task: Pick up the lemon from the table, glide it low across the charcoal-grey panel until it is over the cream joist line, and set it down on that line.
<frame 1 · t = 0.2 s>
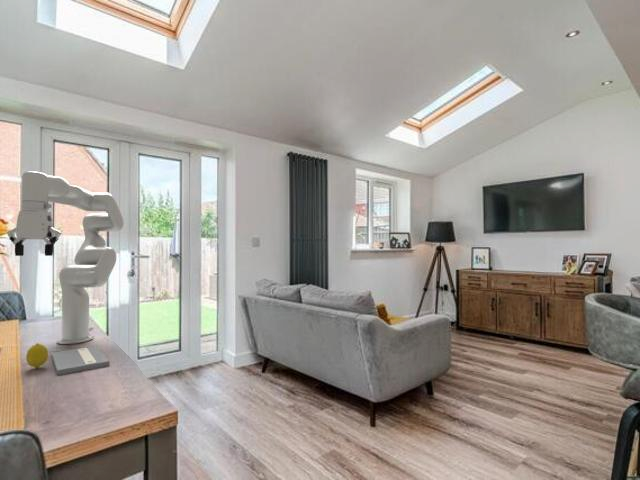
hand: (34, 255, 128), 36 cm above the table, tool pointing down, fingers open, 9 cm apart
panel: (79, 361, 125), on the table
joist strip: (86, 355, 126), resting on panel
lemon: (37, 368, 118), on the table
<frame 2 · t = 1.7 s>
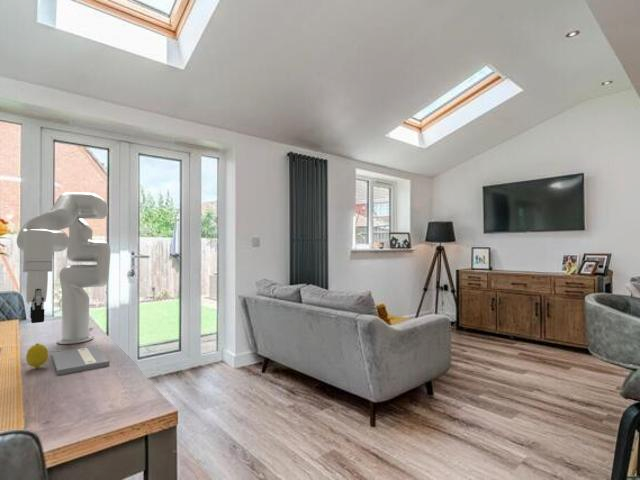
hand: (37, 320, 118), 16 cm above the table, tool pointing down, fingers open, 9 cm apart
nothing on the table moved.
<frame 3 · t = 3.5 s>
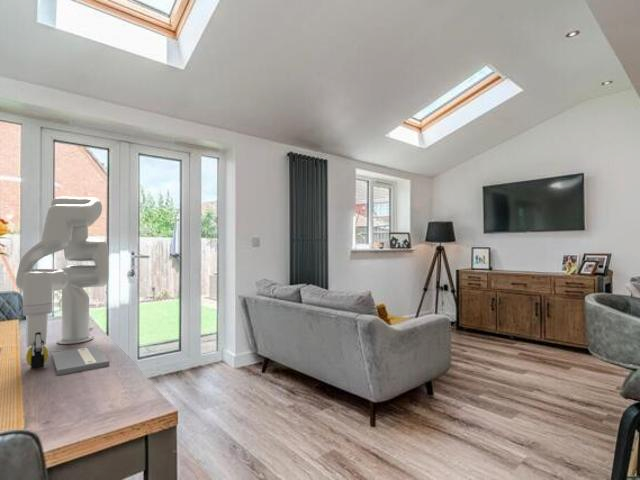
hand: (37, 364, 118), 1 cm above the table, tool pointing down, fingers closed on lemon, 5 cm apart
lemon: (37, 368, 118), on the table, touching gripper
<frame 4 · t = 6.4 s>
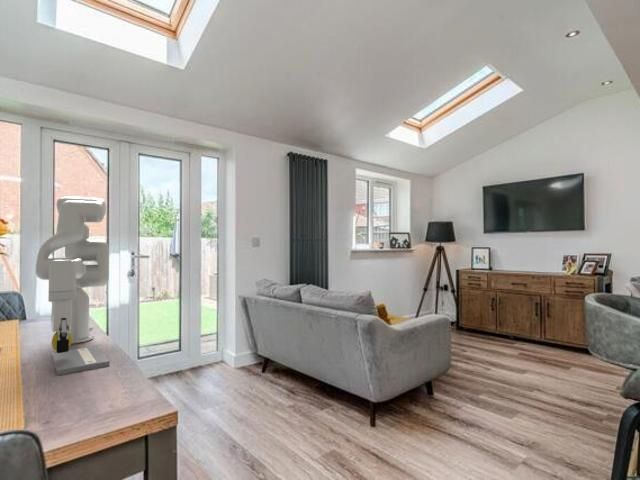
hand: (61, 349, 122), 5 cm above the table, tool pointing down, fingers closed on lemon, 5 cm apart
lemon: (61, 353, 122), point 3 cm above the table, touching gripper
when the fingers open (4 cm above the table, at t = 9.3 s): lemon stays where it is, resting on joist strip.
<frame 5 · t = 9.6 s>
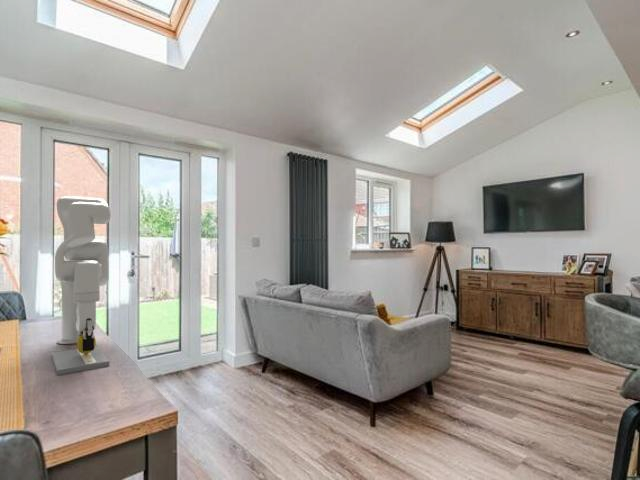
hand: (86, 347, 126), 4 cm above the table, tool pointing down, fingers open, 8 cm apart
lemon: (86, 355, 127), point 1 cm above the table, touching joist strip
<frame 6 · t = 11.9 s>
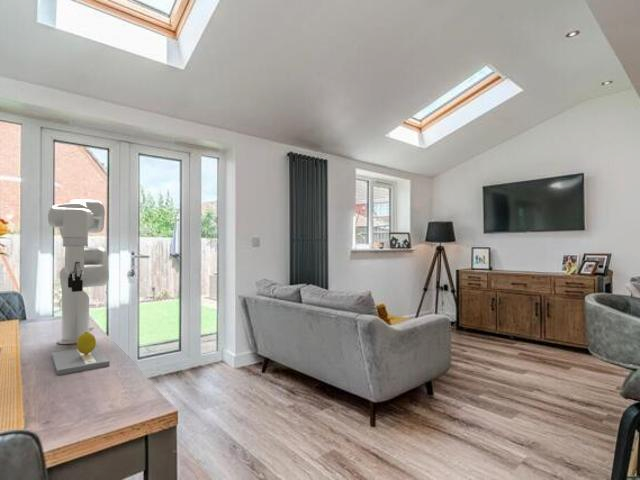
hand: (75, 289, 133), 24 cm above the table, tool pointing down, fingers open, 9 cm apart
nothing on the table moved.
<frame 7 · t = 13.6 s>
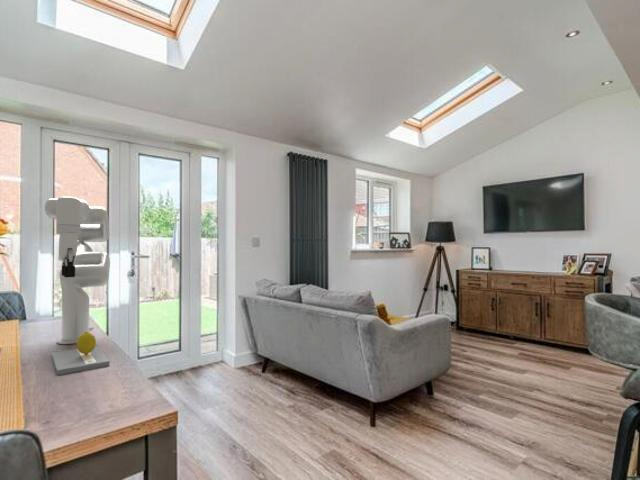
hand: (68, 276, 135), 28 cm above the table, tool pointing down, fingers open, 9 cm apart
nothing on the table moved.
at the end: lemon 0.3 cm from the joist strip (horizontally); lemon point 1.4 cm above the table; the gripper is holding nothing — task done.
